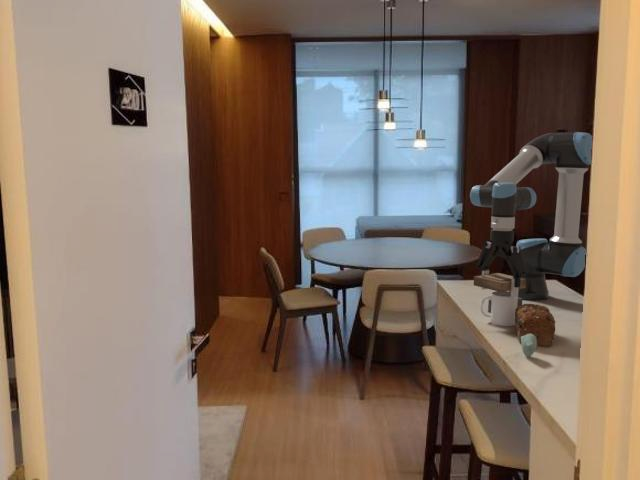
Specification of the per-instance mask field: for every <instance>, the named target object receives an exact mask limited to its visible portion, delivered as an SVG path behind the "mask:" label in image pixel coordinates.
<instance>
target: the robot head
mask: <svg viewBox="0 0 640 480" xmlns="http://www.w3.org/2000/svg"><path fill="white" fill-rule="evenodd" d="M520 345H521V350H522V353H523V354H524V356H525V357H527V358H530V357H531V356H533V355H534V353H535V351H536V349H537V347H538V346H537V339H536V337H535V335H533V334H527V335H525V336H521V344H520Z"/></svg>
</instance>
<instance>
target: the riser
mask: <svg viewBox="0 0 640 480" xmlns="http://www.w3.org/2000/svg"><path fill="white" fill-rule="evenodd" d="M523 300H524V299H523V298H519V297H518V300H517V307H520V306H522V305H523ZM491 305H492V300H488V305H487V306H488V310H487V312H488V313H490V314H491Z"/></svg>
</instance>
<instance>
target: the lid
mask: <svg viewBox="0 0 640 480" xmlns="http://www.w3.org/2000/svg"><path fill="white" fill-rule="evenodd" d="M512 277H514V276H513V275H508V274H505V273H500V272H496V273H489V274H488V275H481V274H480V275H476V276H473V286H475V287H479V288H481V287H482V288H486V289H485V290H491V291H493V292H496V291H498V292H509V291H511V284H512ZM523 288H526V279H524V278H521V282H520V287H519V289H523Z"/></svg>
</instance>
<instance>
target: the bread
mask: <svg viewBox="0 0 640 480" xmlns="http://www.w3.org/2000/svg"><path fill="white" fill-rule="evenodd" d="M514 327H515V332H516V337H517V339H518V342H519V344H520V345H521V336H525V335H527V334H533V335H535V337H536V339H537V347H541V348H544V347H545V348H550V347H552V346H553V343H554V340H555V334H556V320H555V317H554V315H553V314H552V312H551V310H550V309H549V307H547V306H546V305H540V304H534V303H524V304H523V303H522V306H520V307H517V308H516V310H515V325H514Z"/></svg>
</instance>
